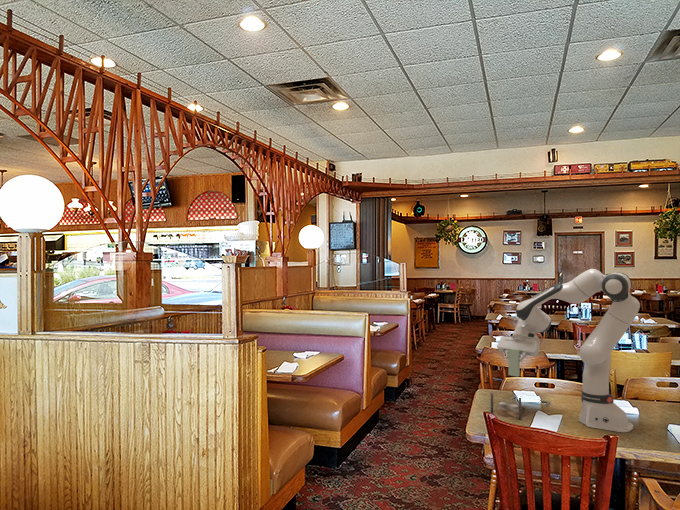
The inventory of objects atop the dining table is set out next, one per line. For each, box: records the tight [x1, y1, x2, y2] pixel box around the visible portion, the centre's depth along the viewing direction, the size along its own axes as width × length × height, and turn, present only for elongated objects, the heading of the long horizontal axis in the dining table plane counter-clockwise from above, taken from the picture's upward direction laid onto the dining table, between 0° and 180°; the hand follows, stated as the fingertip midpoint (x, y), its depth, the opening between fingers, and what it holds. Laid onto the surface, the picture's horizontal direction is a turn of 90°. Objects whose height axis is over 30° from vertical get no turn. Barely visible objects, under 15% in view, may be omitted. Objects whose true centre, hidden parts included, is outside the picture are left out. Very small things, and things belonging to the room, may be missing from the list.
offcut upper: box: [497, 401, 519, 412], centre depth 250 cm, size 9×4×2 cm, turn 48°
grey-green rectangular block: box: [507, 348, 521, 377], centre depth 254 cm, size 5×2×13 cm, turn 48°
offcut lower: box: [496, 407, 519, 418], centre depth 250 cm, size 10×5×2 cm, turn 48°
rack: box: [490, 392, 532, 421], centre depth 251 cm, size 16×12×12 cm
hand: (513, 359), depth 253 cm, fingers closed on grey-green rectangular block, 5 cm apart
